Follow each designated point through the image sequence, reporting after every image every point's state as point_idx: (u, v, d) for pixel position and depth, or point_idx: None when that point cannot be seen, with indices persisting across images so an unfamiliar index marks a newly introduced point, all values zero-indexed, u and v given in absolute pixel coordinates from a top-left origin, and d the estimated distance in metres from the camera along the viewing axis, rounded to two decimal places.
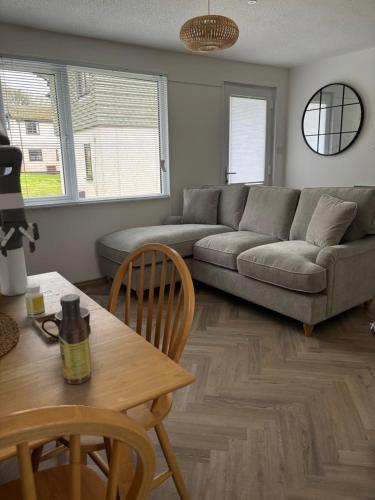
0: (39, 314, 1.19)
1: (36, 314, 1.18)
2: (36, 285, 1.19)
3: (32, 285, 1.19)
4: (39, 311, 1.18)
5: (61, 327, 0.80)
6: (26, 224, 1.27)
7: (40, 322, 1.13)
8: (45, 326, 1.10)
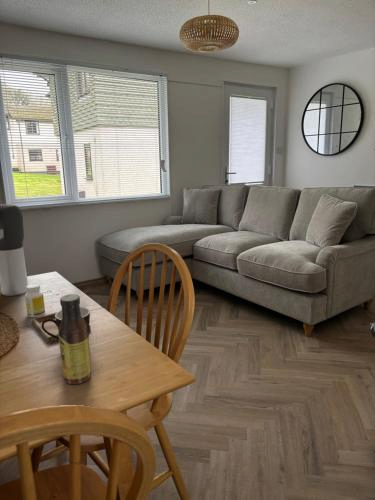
0: (39, 314, 1.19)
1: (36, 314, 1.18)
2: (36, 285, 1.19)
3: (32, 285, 1.19)
4: (39, 311, 1.18)
5: (61, 327, 0.80)
6: None
7: (40, 322, 1.13)
8: (45, 326, 1.10)
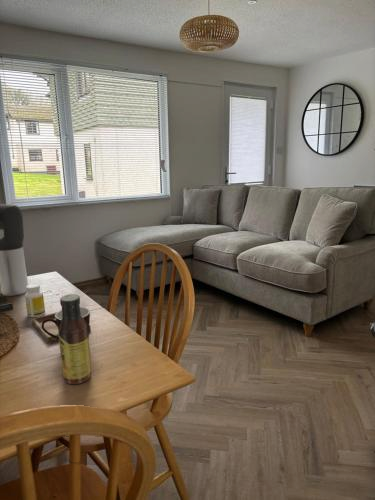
0: (39, 314, 1.19)
1: (36, 314, 1.18)
2: (36, 285, 1.19)
3: (32, 285, 1.19)
4: (39, 311, 1.18)
5: (61, 327, 0.80)
6: None
7: (40, 322, 1.13)
8: (45, 326, 1.10)
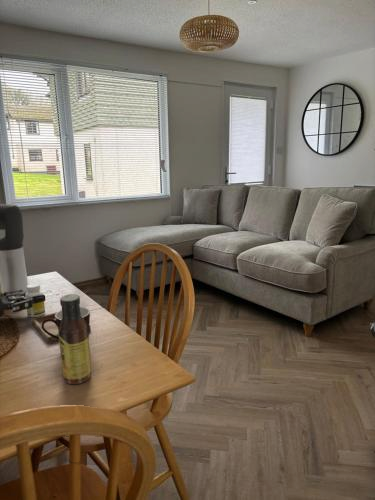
0: (39, 314, 1.19)
1: (36, 314, 1.18)
2: (36, 285, 1.19)
3: (32, 285, 1.19)
4: (39, 311, 1.18)
5: (61, 327, 0.80)
6: (9, 309, 1.12)
7: (40, 322, 1.13)
8: (45, 326, 1.10)
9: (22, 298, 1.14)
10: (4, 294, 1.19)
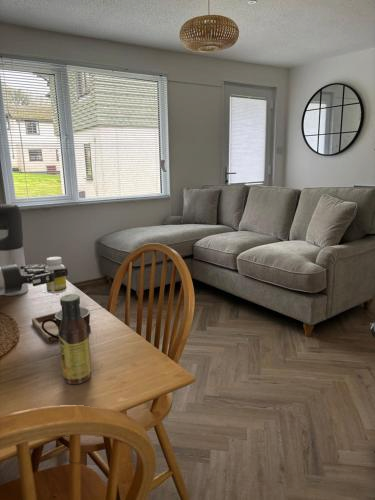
0: (60, 290, 1.06)
1: (57, 290, 1.05)
2: (57, 257, 1.06)
3: (53, 257, 1.06)
4: (60, 287, 1.06)
5: (61, 327, 0.80)
6: (28, 283, 0.99)
7: (40, 322, 1.13)
8: (45, 326, 1.10)
9: (42, 271, 1.01)
10: (21, 268, 1.07)
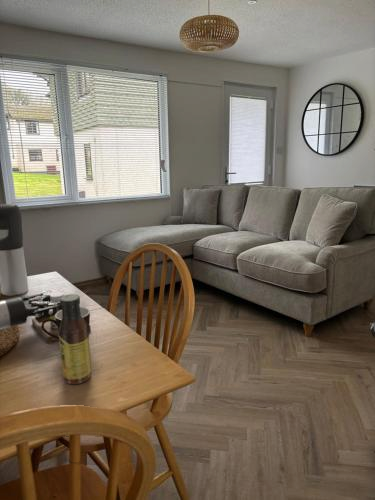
0: None
1: None
2: (60, 294, 1.09)
3: (56, 294, 1.09)
4: None
5: (61, 327, 0.80)
6: None
7: (40, 322, 1.13)
8: (45, 326, 1.10)
9: (46, 304, 1.03)
10: (24, 299, 1.09)
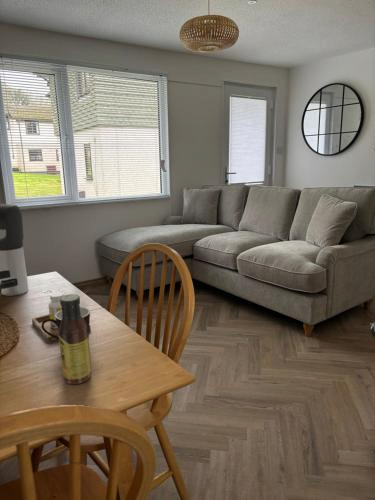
0: None
1: None
2: (60, 294, 1.09)
3: (56, 294, 1.09)
4: None
5: (61, 327, 0.80)
6: None
7: (40, 322, 1.13)
8: (45, 326, 1.10)
9: None
10: None
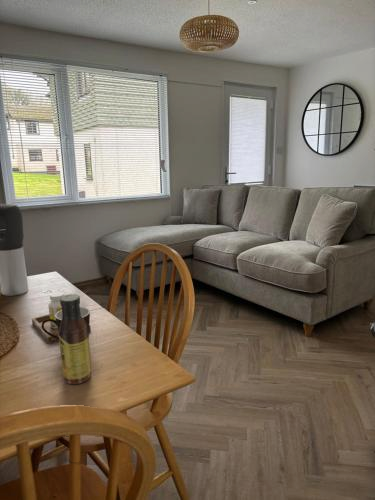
0: None
1: None
2: (60, 294, 1.09)
3: (56, 294, 1.09)
4: None
5: (61, 327, 0.80)
6: None
7: (40, 322, 1.13)
8: (45, 326, 1.10)
9: None
10: None
